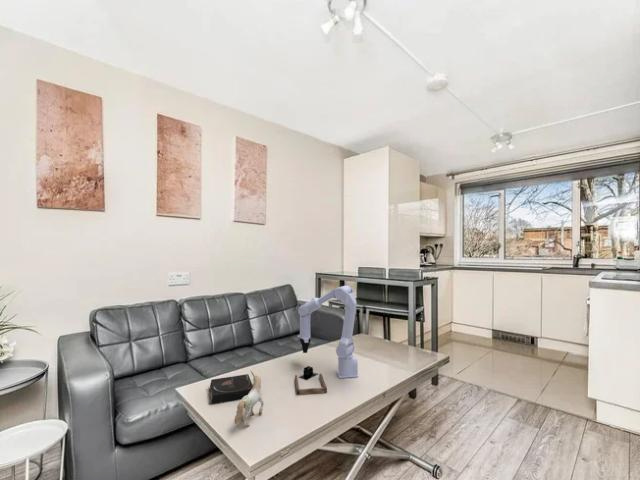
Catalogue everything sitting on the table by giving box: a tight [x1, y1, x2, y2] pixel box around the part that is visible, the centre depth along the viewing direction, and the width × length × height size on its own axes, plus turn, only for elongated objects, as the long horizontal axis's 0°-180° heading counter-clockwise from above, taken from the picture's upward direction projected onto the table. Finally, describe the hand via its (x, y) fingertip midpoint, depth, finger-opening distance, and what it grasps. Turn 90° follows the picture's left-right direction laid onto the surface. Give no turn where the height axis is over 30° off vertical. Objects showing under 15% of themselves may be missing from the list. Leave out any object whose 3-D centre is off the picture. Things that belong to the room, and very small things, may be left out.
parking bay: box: [294, 373, 328, 396], centre depth 137 cm, size 13×16×2 cm
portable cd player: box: [209, 373, 253, 405], centre depth 131 cm, size 16×17×4 cm
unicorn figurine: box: [233, 370, 265, 428], centre depth 111 cm, size 7×20×13 cm, turn 176°
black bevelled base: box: [297, 365, 319, 381], centre depth 148 cm, size 12×7×5 cm, turn 142°
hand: (305, 352), depth 161 cm, fingers closed
